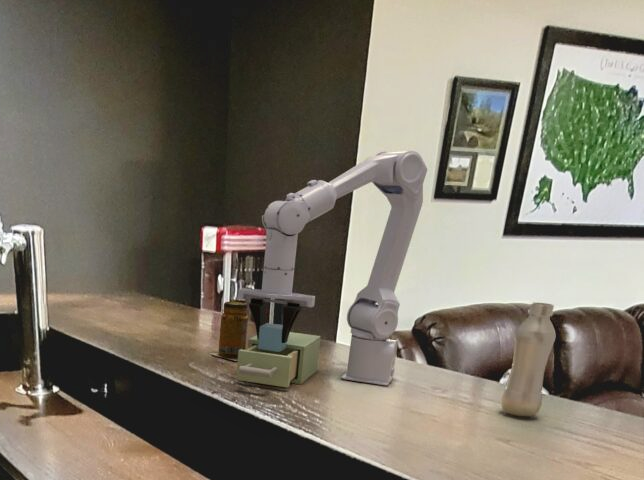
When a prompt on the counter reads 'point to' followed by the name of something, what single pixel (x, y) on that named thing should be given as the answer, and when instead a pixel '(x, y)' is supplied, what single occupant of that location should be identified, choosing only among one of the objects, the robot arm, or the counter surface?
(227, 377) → the counter surface
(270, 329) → the light blue cube
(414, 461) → the counter surface
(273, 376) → the green drawer
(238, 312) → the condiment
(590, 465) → the counter surface
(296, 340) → the green drawer cabinet
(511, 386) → the plastic bottle
